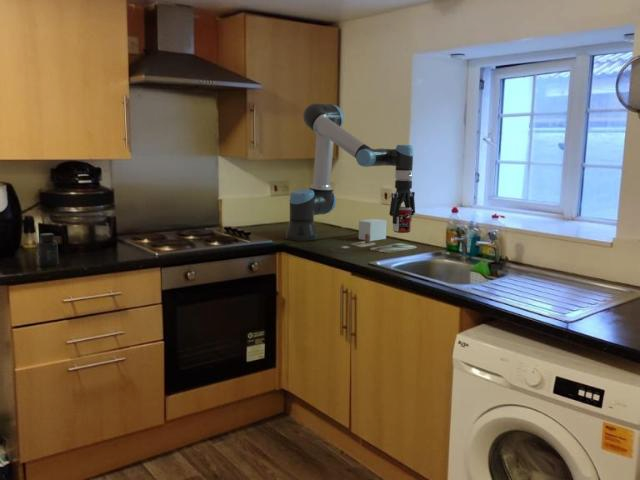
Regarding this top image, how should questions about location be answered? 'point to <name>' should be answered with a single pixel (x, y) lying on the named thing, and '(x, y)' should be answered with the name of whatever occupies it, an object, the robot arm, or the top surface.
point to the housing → (372, 229)
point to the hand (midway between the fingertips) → (401, 230)
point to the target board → (393, 248)
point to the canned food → (404, 220)
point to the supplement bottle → (47, 250)
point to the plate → (366, 243)
